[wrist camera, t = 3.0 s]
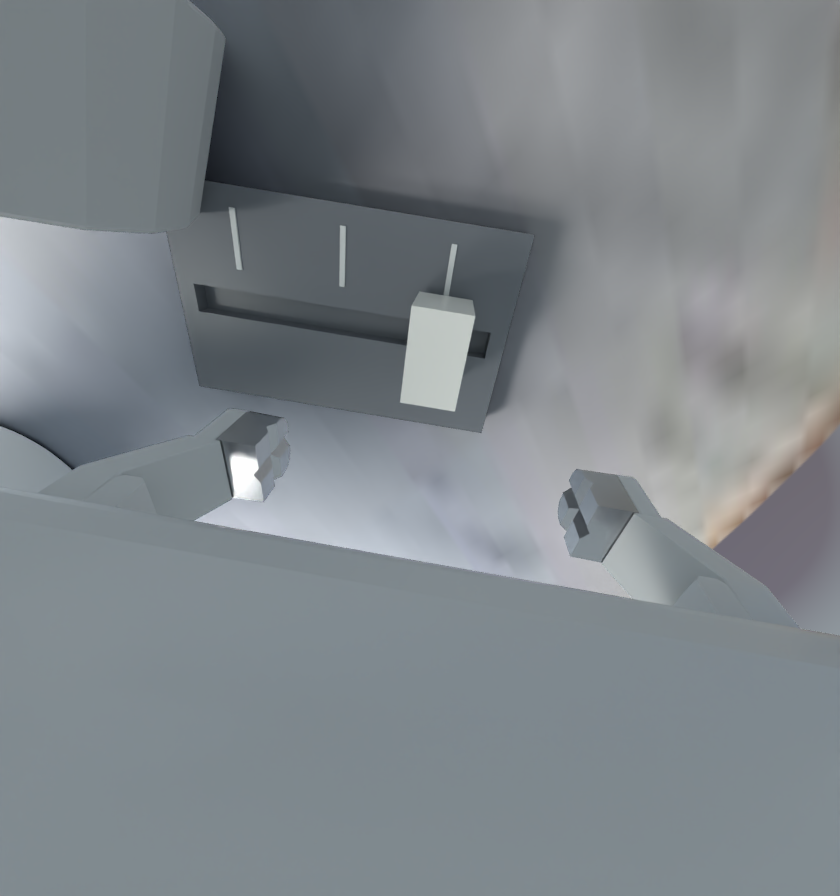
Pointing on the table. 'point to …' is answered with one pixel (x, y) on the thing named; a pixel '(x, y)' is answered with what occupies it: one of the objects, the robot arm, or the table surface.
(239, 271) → the fader deck
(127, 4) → the alarm clock
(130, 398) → the table surface
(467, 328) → the fader knob
